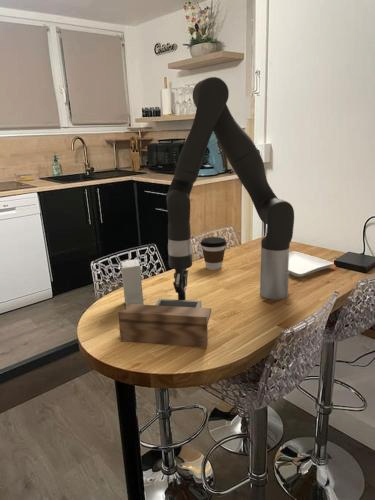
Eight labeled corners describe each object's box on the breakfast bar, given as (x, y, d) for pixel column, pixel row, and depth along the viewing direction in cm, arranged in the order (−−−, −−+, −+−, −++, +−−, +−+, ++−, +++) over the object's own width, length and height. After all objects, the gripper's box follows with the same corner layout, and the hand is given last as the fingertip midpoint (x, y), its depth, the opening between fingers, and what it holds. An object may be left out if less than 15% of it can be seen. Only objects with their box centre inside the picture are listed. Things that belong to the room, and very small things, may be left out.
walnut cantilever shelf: (211, 330, 110) (211, 301, 107) (207, 348, 101) (206, 317, 98) (131, 325, 114) (129, 297, 112) (120, 341, 106) (117, 312, 103)
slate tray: (201, 309, 123) (201, 300, 122) (191, 337, 106) (190, 327, 106) (159, 307, 126) (159, 298, 125) (143, 334, 109) (142, 324, 108)
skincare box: (144, 309, 125) (141, 266, 121) (125, 311, 124) (122, 268, 120) (141, 298, 133) (138, 258, 129) (124, 301, 132) (120, 260, 127)
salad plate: (334, 269, 156) (335, 261, 155) (299, 282, 144) (300, 273, 143) (293, 257, 172) (294, 250, 171) (259, 267, 161) (259, 259, 160)
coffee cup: (213, 273, 154) (213, 245, 151) (195, 267, 162) (194, 240, 159) (232, 267, 161) (232, 239, 158) (213, 261, 169) (213, 235, 166)
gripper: (188, 258, 115) (189, 311, 120) (195, 246, 127) (196, 294, 132) (163, 258, 116) (166, 310, 121) (172, 245, 128) (175, 293, 133)
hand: (182, 302), depth 127 cm, fingers closed
